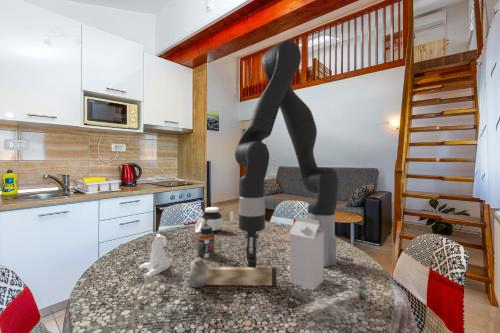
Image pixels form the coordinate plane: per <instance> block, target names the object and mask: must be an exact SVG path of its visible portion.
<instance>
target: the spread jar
mask: <svg viewBox="0 0 500 333" xmlns="http://www.w3.org/2000/svg"><path fill="white" fill-rule="evenodd" d="M204 210H205V211H204V213H203V214H202V216H201V218H198V219H197V220H196V222H195V226H194V228H195V229H194V230H195V233H197V234H199V233H201V227H203V226H211V227H212V232H213V233H214V234H217V233H218V232H220V231H221V230H222V228H223V216H222V214H221V213H220V209H219V207H216V206H212V207H211V206H210V207H209V206H208V207H205V208H204Z"/></svg>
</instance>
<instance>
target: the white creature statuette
mask: <svg viewBox="0 0 500 333" xmlns="http://www.w3.org/2000/svg"><path fill="white" fill-rule="evenodd" d="M167 244H168V240H167V237H166V236H164V235H163V234H159V233H157V234H156V236H155V239H154V240H152V244H151V252H150V253H149V254H150V255H149V257H150V258H149V262H143V263H142V264H140V265H139V270H142V269H143V270H144V269H146V270H148V272H146V273H145V277H146V278H151V277H155V276H156V275H158V274H160V273H161V272H164V271H167V270H168V268H170V267H171V264H172V263H171V261H170V258H169V257H168V256H167V253H166V250H165V249H164V248H165V247H166V245H167Z"/></svg>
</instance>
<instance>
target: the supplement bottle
mask: <svg viewBox="0 0 500 333" xmlns="http://www.w3.org/2000/svg"><path fill="white" fill-rule="evenodd" d="M197 234H198V235H197V257H199V258H202V259H207V258H208V259H209V258H212V257H214V255H215V236H216V235H215V233H213V232H212V227H211V226H203V227H201V232H200V233H197Z"/></svg>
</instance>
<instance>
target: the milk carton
mask: <svg viewBox="0 0 500 333" xmlns="http://www.w3.org/2000/svg"><path fill="white" fill-rule="evenodd" d="M288 276H289V278H288V279H289V283H292V284H295V285H297V286H299V287H303V288H305V289H307V290H310V291H314V290H315V289H316V288H318V286H319V285H321V283H322V282H324V232H323V230H322V229H321V227H320V225H319V221H317V220H311V219H308V218H305V217H298V216H296V217H295V221H294V224H293V226H292V228H291V230H290V231H289V275H288Z"/></svg>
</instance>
